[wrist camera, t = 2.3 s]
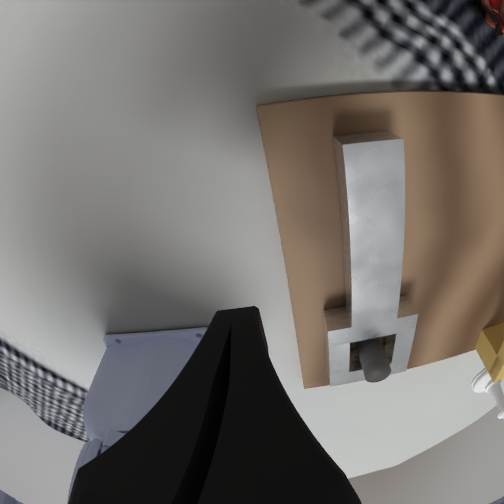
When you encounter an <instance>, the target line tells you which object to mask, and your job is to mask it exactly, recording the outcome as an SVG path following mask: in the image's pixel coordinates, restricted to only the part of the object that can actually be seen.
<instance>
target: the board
mask: <svg viewBox="0 0 504 504" xmlns="http://www.w3.org/2000/svg"><path fill="white" fill-rule="evenodd" d="M256 109H257V114H258V119H259V124H260V129H261V134H262V140H263V145H264V150H265V155H266V160H267V166H268V171H269V176H270V182H271V187H272V192H273V198H274V203H275V209H276V215H277V220H278V226H279V232H280V237H281V243H282V249H283V255H284V261H285V267H286V273H287V279H288V285H289V291H290V298H291V304H292V310H293V317H294V323H295V330H296V336H297V343H298V350H299V357H300V363H301V370H302V377H303V385H304V389H306V388H313V387H319V386H326V385H330V383H329V377H328V371H327V362H326V344H325V328H324V314H323V310H327V309H333V308H339V307H345V274H344V252H343V235H342V221H341V208H340V196H339V185H338V175H337V166H336V157H335V148H334V140H333V136H340V135H349V134H359V133H369V132H381V131H389V132H391V133H393V134H395V135H397V136H399V137H401V138H403V139H404V158H405V229H404V250H403V265H402V278H401V288H400V296H404V295H409V297H410V299H411V301H412V303H413V305H414V307H415V309H416V311H417V312H418V318H417V323H416V329H415V334H414V339H413V343H412V348H411V352H410V357H409V361H408V365H407V369H410V368H414V367H418V366H421V365H425V364H429V363H432V362H436V361H440V360H443V359H446V358H450V357H453V356H456V355H460V354H463V353H466V352H469V351H472V350H475V347H476V344H477V341H478V339H479V336H480V333H481V331H482V330H483V329H486V328H489V327H492V326H495V325H498V324H500V323H503V322H504V94H494V93H482V92H466V91H434V90H415V91H381V92H364V93H351V94H339V95H329V96H320V97H311V98H304V99H296V100H289V101H282V102H276V103H270V104H264V105H258V106H256ZM383 344H385V336H382V337H377V338H372V339H367V340H362V341H357V342H351V343H350V351H352V350H358V354H359V357H360V361H361V365H362V369H363V372H364V376H365V379H366V381H368V382H379V381H382V380H384V379H385V378H387V377H388V376H389V375H390V373H391V367H390V364H389V361H388V358H387V356H386V353H385V350H384V347H383Z"/></svg>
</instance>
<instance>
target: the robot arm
mask: <svg viewBox="0 0 504 504" xmlns="http://www.w3.org/2000/svg"><path fill="white" fill-rule="evenodd" d="M197 333H199V334H201V335H199V334H197ZM103 340H104V342H105V344H106V346H107V349H106V351H105V353H104V355H103V358H102V360H101V362H100V365H99V367H98V369H97V372H96V374H95V376H94V379H93V381H92V384H91V386H90V389H89V391H88V393H87V396H86V399H85V403H84V411H83V417H84V426H85V429H86V432H87V434H88V436H89V438H90V440H91V441H89V442H86V443H85V444H84V446H83V448H82V450H81V452H80V455H79V457H78V460H77V463H76V466H75V469H74V473H73V476H72V481H71V484H70V489H69V495H68V504H362V503H361V501H360V499H359V497H358V495H357V494H356V492H355V490H354V489H353V487H352V485H351V484H350V482H349V480H348V479H347V477H346V475H345V473H344V472H343V471H342V470H341V469H340V468H339V466H338V465H337V464H336V463H335V462H334V461H333V459H332V458H331V457H330V456H329V455H328V454H327V452H326V451H325V450H324V448H323V447H322V446H321V445H320V443H319V442H318V441H317V439H316V438H315V437H314V435H313V434H312V432H311V431H310V430H309V428H308V427H307V425H306V424H305V422H304V421H303V419H302V418H301V416H300V415H299V413H298V412H297V410H296V409H295V407H294V405H293V404H292V402H291V400H290V398H289V397H288V395H287V393H286V391H285V389H284V388H283V386H282V384H281V382H280V380H279V378H278V376H277V374H276V371H275V369H274V367H273V365H272V362H271V360H270V358H269V354H268V345H267V341H266V337H265V333H264V329H263V325H262V321H261V316H260V312H259V308H257V307H255V306H252V307H244V308H236V309H228V310H220V311H217V312H216V314H215V315H214V317H213V319H212V321H211V323H210V325H209V326H208V328H207V327H201V328H191V329H180V330H169V331H156V332H143V333H128V334H111V335H105V336H104V339H103ZM0 504H23V503H21V502H19V501H17V500H15V499H14V498H13V497H11V496H10V495H8V494H6V493H5V492H3V491H1V490H0ZM490 504H504V497H502V498H500V499H498V500H496V501H494V502H492V503H490Z"/></svg>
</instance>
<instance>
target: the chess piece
mask: <svg viewBox="0 0 504 504" xmlns="http://www.w3.org/2000/svg"><path fill="white" fill-rule="evenodd" d="M500 383H501V380H499V381H497V382H495V383H493V381H492V379H491V377H490V375H489V373H488V371H487V369H486V368H485V369H484V370H483V371H481V372H480V373H479V374H478V375H477V376H476V377H475V379H474V380H473V382H472V384H471V387H472V389H473V390H474V392H476V393H482V392H486V393H488V392H489V394H490V395H491V397H492V398H493V400H494V401H495V403H496V404H497V406H498V408H499V409H500V411H501V412H500V413H499V415H498V416H497V417H498V418H499V419H501V418H504V395H503V392H502V389H501V386H500Z"/></svg>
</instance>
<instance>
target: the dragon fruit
mask: <svg viewBox="0 0 504 504" xmlns="http://www.w3.org/2000/svg"><path fill="white" fill-rule="evenodd" d="M471 1H473V0H471ZM481 1H482V4H483V6H484V8H485V10H486V16H485V21H486V23H487V24H488V25H490V26H491V27H493V28H494V29H495V31H496V34H497V35H496V36H497V37H500V36H501V35H503V34H504V0H481Z"/></svg>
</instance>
